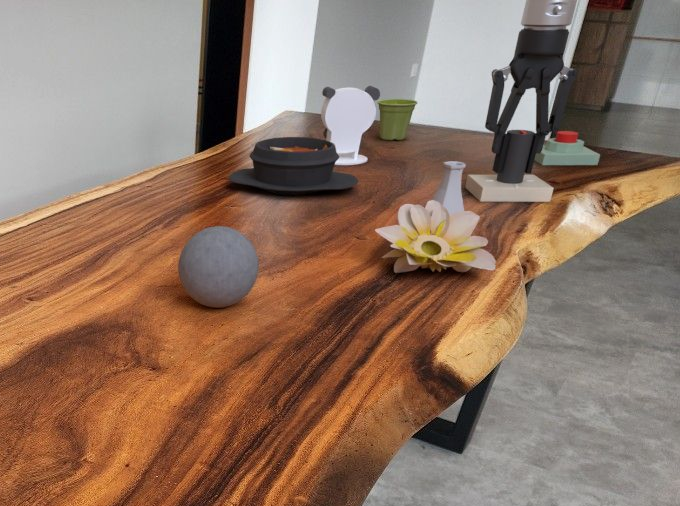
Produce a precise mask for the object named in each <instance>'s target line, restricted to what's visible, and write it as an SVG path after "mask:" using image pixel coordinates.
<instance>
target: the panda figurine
mask: <svg viewBox="0 0 680 506" xmlns="http://www.w3.org/2000/svg"><path fill="white" fill-rule="evenodd" d="M321 94H322V96H323V97H325V99H324V101H323V104H322V107H321V111H320V118H321V122H322V125H323V126H324V127H325V129H324V131H323V133H322V135H323V138H324V139H325V140H326V141H329V142H332V143H334V144H335V148H336V152H337V154H338V155H339V159H338V160H337V161H336V162H335V165H334V166H355V165H361V164H365V163H367V162H368V157H367V156H365V155H363V154H359V150H360V147H361V141H362V136H363V134H364V133H365V132H367V131H368V130H369V129H370V127H371V126H372V125H373V123H374V121H375V120H376V117H377V107H376V104H375V101H379V100H380V97H381V91H380V89H379V88H378V87H375V86H372V85H368V86H366V88H365V89H364V90H363V89H361V88H357V87H349V86H348V87H346V86H345V87H340V88H336V89H334V88H333V87H331V86H326V87H323V89H322V93H321Z"/></svg>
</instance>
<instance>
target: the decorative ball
mask: <svg viewBox="0 0 680 506" xmlns="http://www.w3.org/2000/svg"><path fill="white" fill-rule="evenodd" d="M258 257H259V256H258V253H257V251H256V248H255V246H254V244H253V243H252V241H250V239H249V238H248V237H247V236H246V235H245V234H244V233H243V232H241V231H240V230H237V229H236V228H233V227H229V226H224V225H216V226H209V227H206V228H204V229H201V230H199V231H198V232H196V233H195V234H194V235H192V236H191V237H190V238H189V239H188V240H187V241H186V243H185V244H184V245H183V247H182V250H181V252H180V255H179V258H178V264H177V265H178V266H177V270H178V272H177V273H178V278H179V282H180V283H181V286H182V288H183V290H184V291H185V292H186V294H187V295H188V296H189V297H190V298H191V299H193V301H195V302H196V303H198V304H200V305H203V306H205V307H207V308H208V307H209V308H216V309H217V308H219V309H220V308H227V307H230V306H233V305H235V304H237V303H239V302H240V301H242V300H243V299H244V298H245V297H247V296H248V295H249V293H250V292H251V291H252V289H253V288H254V286H255V284H256V282H257V279H258V276H259V275H258V274H259V268H260V267H259V264H260V263H259V258H258Z"/></svg>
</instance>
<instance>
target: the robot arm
mask: <svg viewBox="0 0 680 506" xmlns="http://www.w3.org/2000/svg"><path fill="white" fill-rule="evenodd" d="M577 3H578V0H525V4H524V8H523V12H522V17H521V21H520V25H521V26H523V28H522V29H520V31H518V36H517V40H516V44H515V45H516V46H515V50H514V54H513V58H512V60H511V61H510V62H509V64H508V66H505V67H502V68H500V69H498V68H495V69H493V70H492V71H491V80H492V87H491V88H492V89H491V94H490V98H489V104H488V109H487V114H486V118H485V119H486V120H485V124H484V128H485V129H486V130H488V131H489V132H491V133H493V135H494V136H493V141H492V145H491V152H492V154H493V155H494V154H495V155H494V159H493V165H492V169H491V171H493V172H494V173H495V174H496V175H497V174H501V171H502V167H503V162H504V158H505V153H506V149H507V145H508V140H509V135H507V131H508V128H509V126H510V124H511V121H512V120H513V117H514V116H515V113H516V110H517V108H518V107H519V104H520V102H521V99H522V97H523V96H524V95H525V94H526V91H527V90H530V89H535V94H536V95H535V96H536V97H535V98H536V99H535V132H534V137H533V141H532V145H531V149H530V153H529V157H528V161H527V166H526V170H525V175H532V171H533V168H534V163H535V160H534V159H535V155H536V153H541V151H542V149H543V145H545V142H546V141H545V140H546V136H548V135H549V134H551V133H552V132H558V131H560V128H561V125H562V121H563V119H564V118H563V117H564V113H565V111H566V107H567V102H568V99H569V96H570V92H571V88H572V85H573V83H574V82H575V81H576V78H577V77H578V75H579V70H578V69H575V68H572V67H568V66H565V61H564V54H565V52H566V48H567V44H568V40H569V35H570V31H569V29H568V28H567V26H570V25H572V23H573V18H574V15H575V11H576V7H577ZM509 75H510V76H511V78H512V80H513V85H512V86H511V89H510V94H509V96H508V98H507V101H506V102H505V105H504V107H503V110H502V112H501V114H500V111H501V105H502V100H503V96H504V91H505V83H506V81H508V78H509ZM558 75H559V76H558ZM557 76H558V79H559V82H558V85H557V88H556V92H555V96H554V100H553V103H552V106H551V111H550V115H549V106H550V105H549V104H550V103H549V102H550V92H551V82H552V81H553V80H554V79H555V78H556V77H557Z"/></svg>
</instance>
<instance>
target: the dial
mask: <svg viewBox="0 0 680 506" xmlns="http://www.w3.org/2000/svg"><path fill="white" fill-rule="evenodd" d="M534 133H535V132H534V131H533V130H528V129H527V130H526V129H510V130H507V131H506V134H507V135H509V140H508V145H507V149H506V153H505V158H504V162H503V167H502V171H501V174H497V173H496V175H497V179H496V180H497V181H499V182H503V183H512V184H515V183H521V182H523V178H524V175H526V173H525V170H526V166H527V161H528V157H529V153H530V149H531V145H532V141H533V137H534Z"/></svg>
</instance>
